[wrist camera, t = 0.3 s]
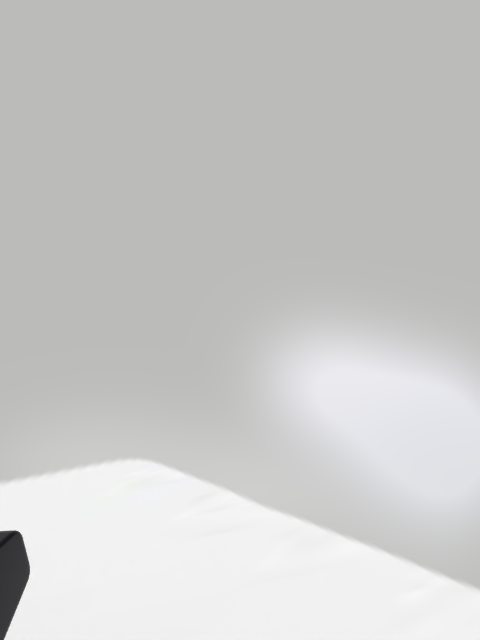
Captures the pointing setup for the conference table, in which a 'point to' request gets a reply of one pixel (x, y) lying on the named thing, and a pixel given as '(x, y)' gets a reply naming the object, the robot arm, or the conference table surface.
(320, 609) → the conference table surface
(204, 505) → the conference table surface
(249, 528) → the conference table surface
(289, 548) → the conference table surface
